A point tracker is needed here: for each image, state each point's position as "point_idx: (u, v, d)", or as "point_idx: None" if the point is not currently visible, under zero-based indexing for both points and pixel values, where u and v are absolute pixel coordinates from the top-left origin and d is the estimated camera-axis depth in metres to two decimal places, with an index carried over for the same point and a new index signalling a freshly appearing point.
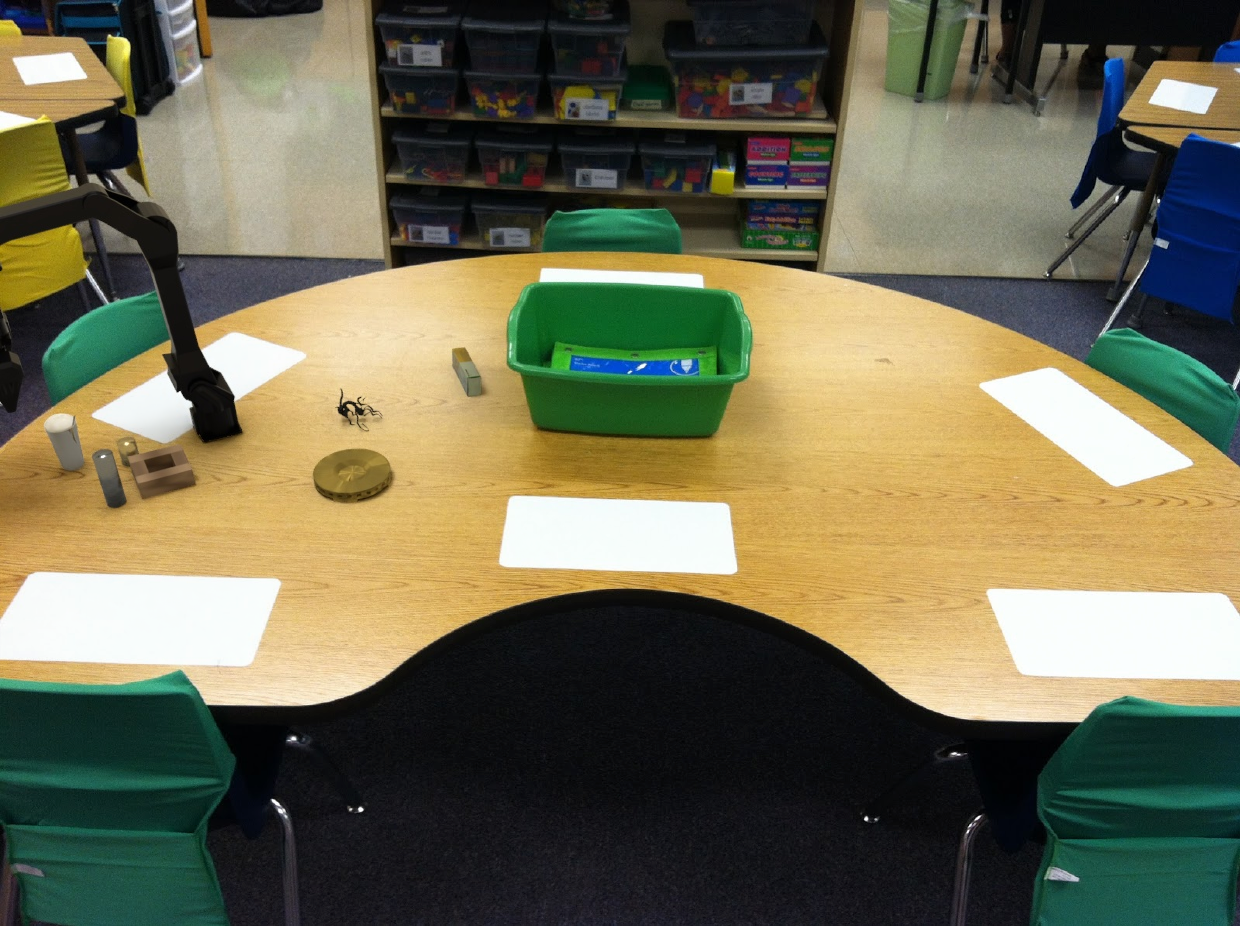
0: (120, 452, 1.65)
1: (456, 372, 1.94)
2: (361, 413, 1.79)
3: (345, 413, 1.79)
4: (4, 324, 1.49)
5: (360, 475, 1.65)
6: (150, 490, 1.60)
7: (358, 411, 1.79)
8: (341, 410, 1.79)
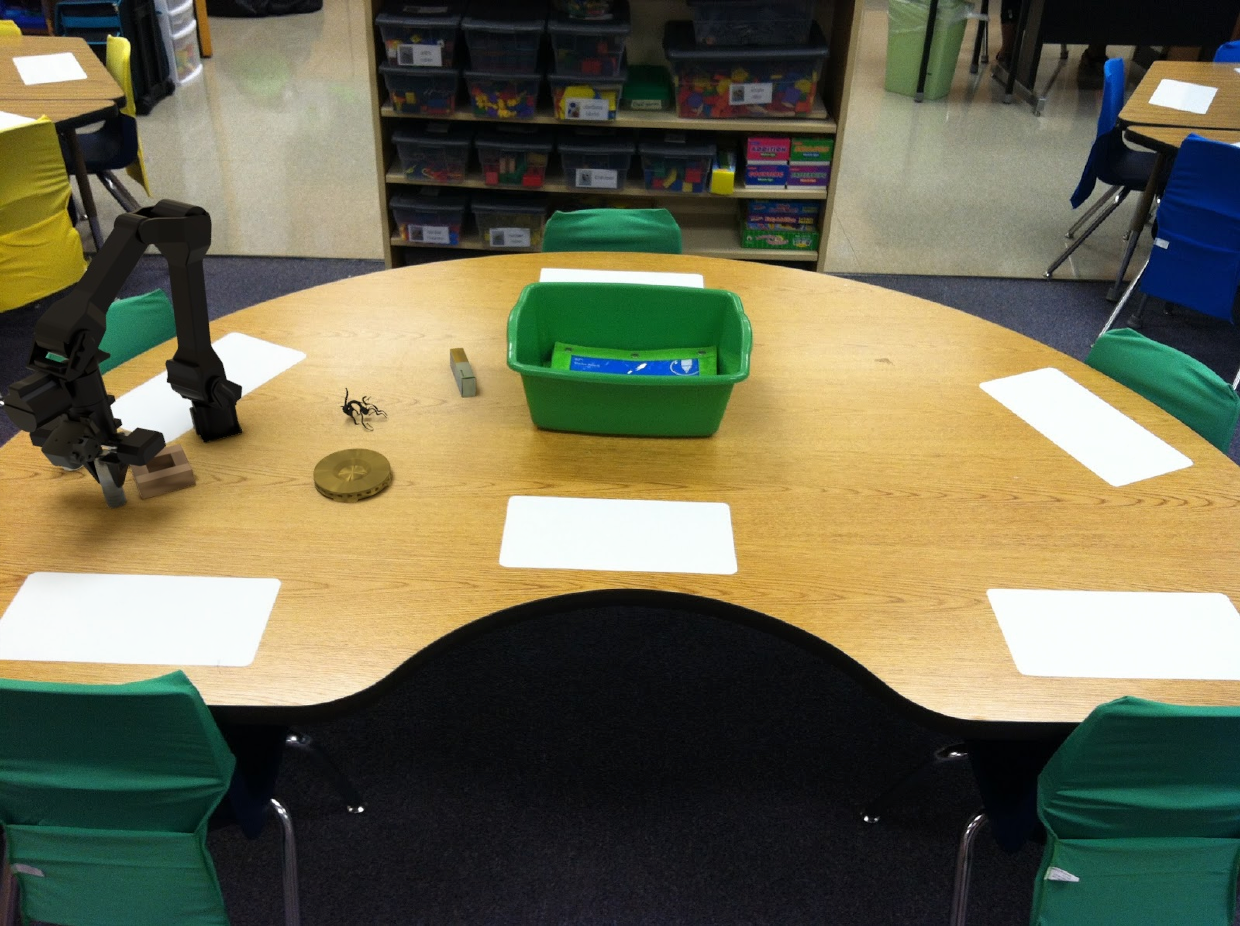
0: None
1: (453, 372, 1.94)
2: (366, 412, 1.79)
3: (350, 412, 1.79)
4: None
5: (360, 475, 1.65)
6: (150, 490, 1.60)
7: (363, 410, 1.79)
8: (346, 409, 1.79)
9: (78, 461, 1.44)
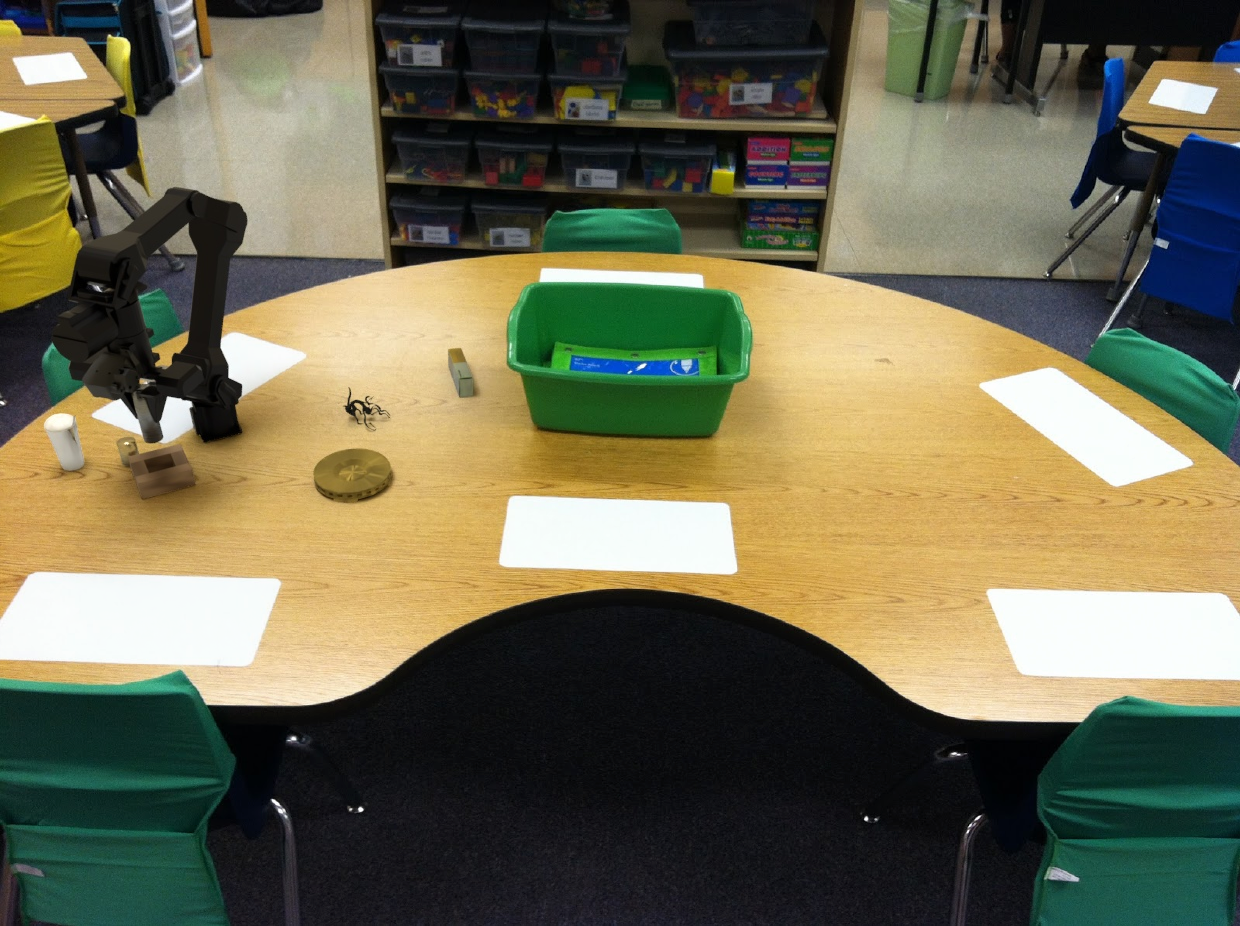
0: (120, 452, 1.65)
1: (451, 372, 1.94)
2: (369, 412, 1.80)
3: (353, 412, 1.79)
4: None
5: (360, 475, 1.65)
6: (150, 490, 1.60)
7: (366, 410, 1.79)
8: (349, 409, 1.79)
9: (119, 391, 1.45)
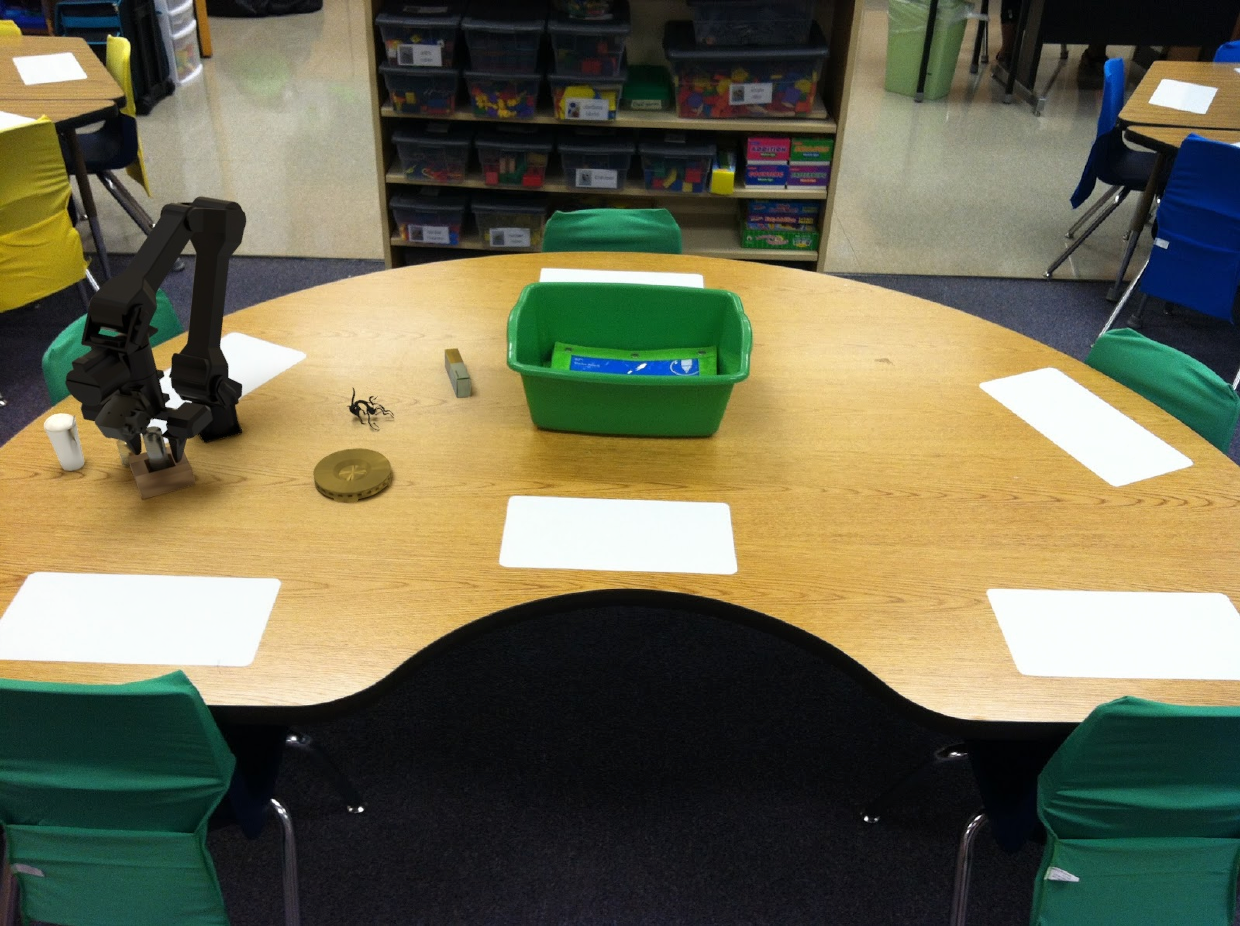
0: (120, 452, 1.65)
1: (448, 373, 1.94)
2: (372, 412, 1.80)
3: (357, 412, 1.79)
4: None
5: (360, 475, 1.65)
6: (150, 490, 1.60)
7: (370, 410, 1.79)
8: (353, 409, 1.79)
9: (130, 433, 1.49)
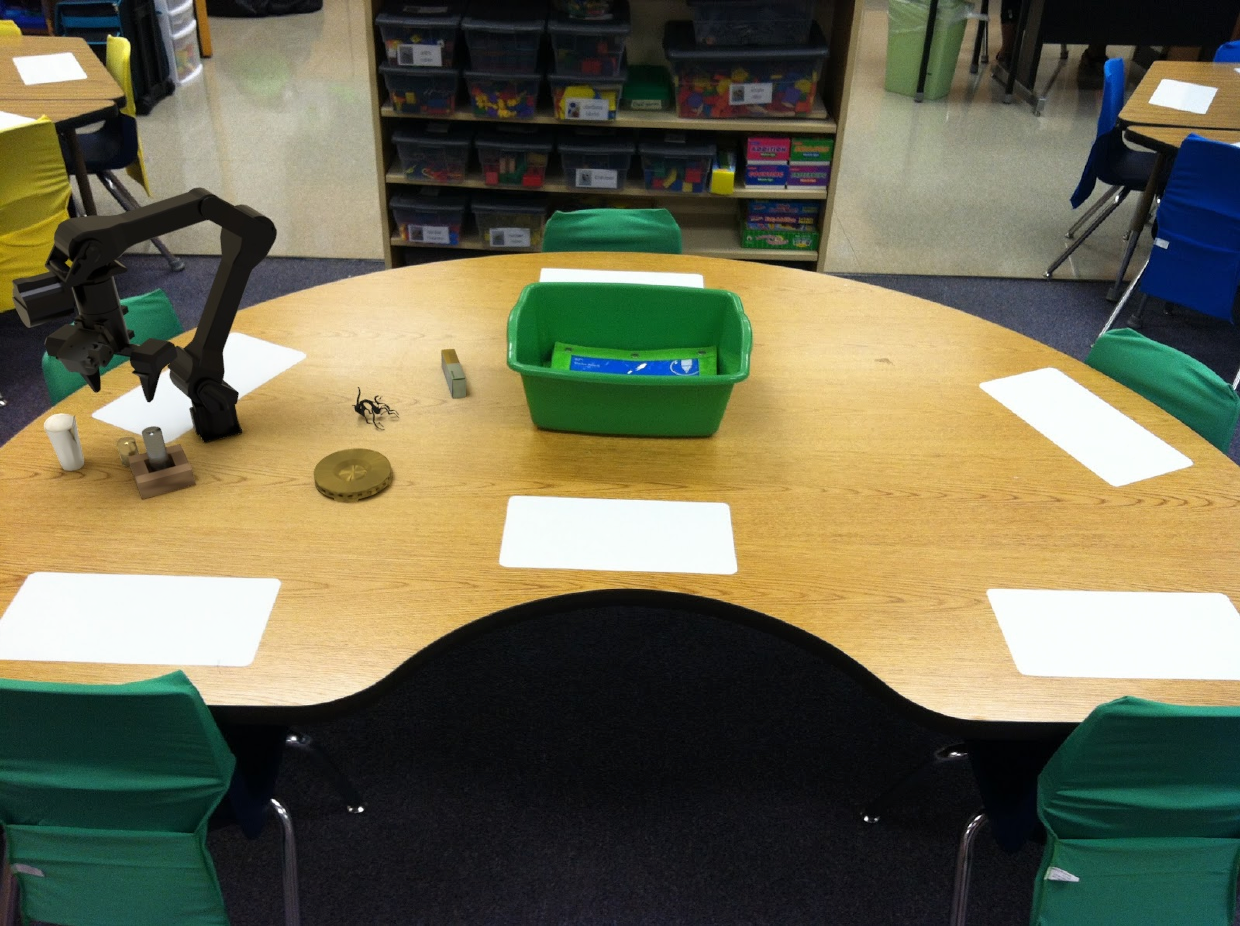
0: (120, 452, 1.65)
1: (444, 373, 1.94)
2: (378, 412, 1.80)
3: (362, 411, 1.79)
4: None
5: (361, 475, 1.65)
6: (150, 490, 1.60)
7: (375, 410, 1.80)
8: (358, 408, 1.79)
9: (93, 366, 1.49)
